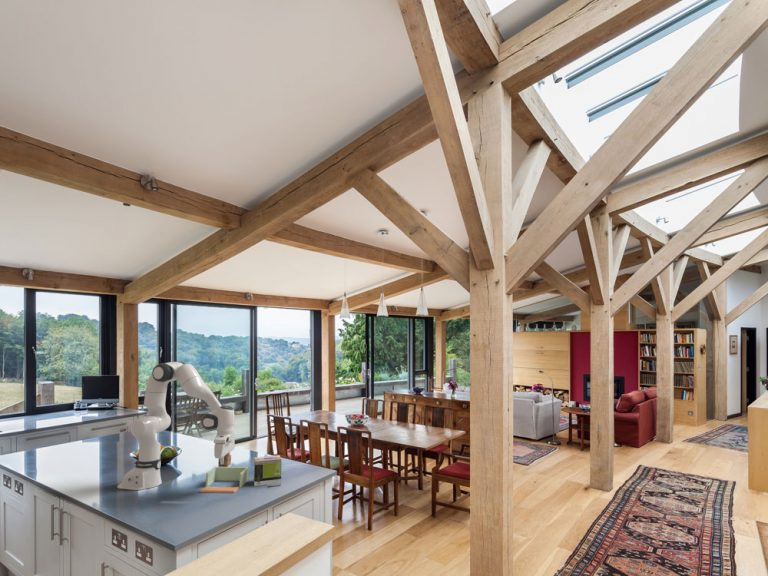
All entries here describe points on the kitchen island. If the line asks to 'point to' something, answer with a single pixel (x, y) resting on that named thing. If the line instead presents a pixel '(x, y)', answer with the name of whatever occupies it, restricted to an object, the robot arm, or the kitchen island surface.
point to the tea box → (267, 470)
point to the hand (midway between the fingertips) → (224, 462)
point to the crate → (227, 475)
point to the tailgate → (220, 489)
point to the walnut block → (227, 461)
